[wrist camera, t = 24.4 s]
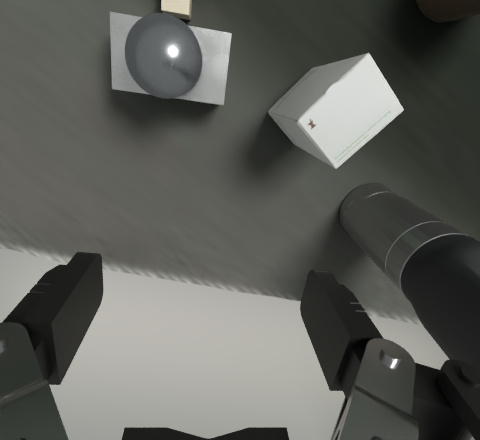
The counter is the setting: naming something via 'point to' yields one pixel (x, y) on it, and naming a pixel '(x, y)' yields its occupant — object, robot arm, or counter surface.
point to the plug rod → (177, 8)
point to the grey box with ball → (168, 58)
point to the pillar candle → (448, 9)
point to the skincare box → (337, 108)
